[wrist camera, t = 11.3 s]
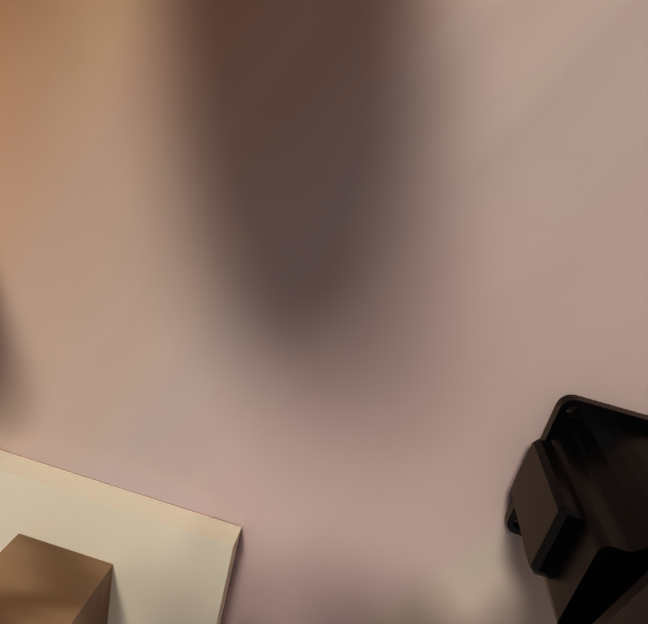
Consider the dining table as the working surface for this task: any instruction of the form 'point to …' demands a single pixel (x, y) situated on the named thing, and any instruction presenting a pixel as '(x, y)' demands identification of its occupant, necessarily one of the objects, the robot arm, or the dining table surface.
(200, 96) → the dining table surface
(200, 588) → the plate
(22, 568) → the walnut block
